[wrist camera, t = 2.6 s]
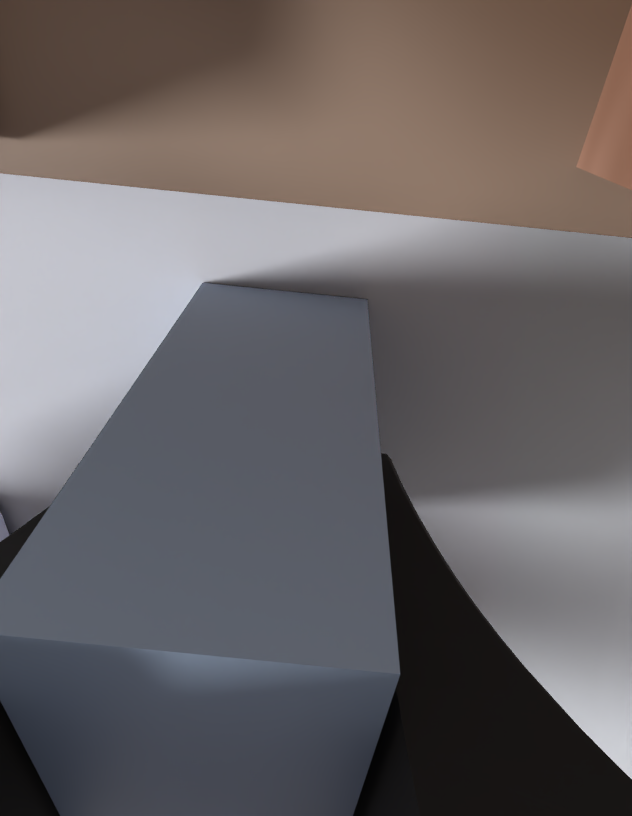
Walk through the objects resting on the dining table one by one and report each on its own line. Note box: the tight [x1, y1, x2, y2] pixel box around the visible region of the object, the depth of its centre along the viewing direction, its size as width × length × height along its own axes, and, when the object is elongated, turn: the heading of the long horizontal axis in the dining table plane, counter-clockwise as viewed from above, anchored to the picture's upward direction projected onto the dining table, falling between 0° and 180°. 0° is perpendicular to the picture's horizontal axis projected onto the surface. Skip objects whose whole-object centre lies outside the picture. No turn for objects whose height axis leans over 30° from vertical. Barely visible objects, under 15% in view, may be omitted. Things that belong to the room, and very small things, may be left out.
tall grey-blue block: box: [0, 283, 400, 816], centre depth 9 cm, size 6×4×8 cm, turn 175°
